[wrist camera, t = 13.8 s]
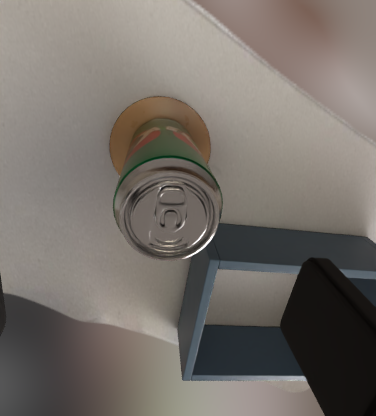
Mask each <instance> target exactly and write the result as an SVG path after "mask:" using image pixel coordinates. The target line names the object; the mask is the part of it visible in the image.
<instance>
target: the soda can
mask: <svg viewBox="0 0 376 416" xmlns="http://www.w3.org/2000/svg"><path fill="white" fill-rule="evenodd" d="M222 209H223V200H222V193H221V190H220V187H219V185H218V183H217V181H216V179H215V177H214V175H213V174H212V172H211V170H210V168H209V167H208V165H207V163H206V161H205V159H204V158H203V156H202V154H201V152H200V150H199V149H198V147H197V145H196V143H195V142H194V140H193V138H192V136H191V134H190V133H189V132H188V130H187V129H186V128H185V127H184V126H183V125H181V124H180V123H178V122H176V121H174V120H171V119H166V118H158V119H153V120H150V121H148V122H146V123H144V124H143V125H141V126H140V127H139V128H138V129H137V130H136V132H135V133H134V135H133V137H132V139H131V142H130V145H129V149H128V152H127V155H126V158H125V162H124V165H123V168H122V171H121V175H120V178H119V181H118V184H117V188H116V191H115V195H114V199H113V211H114V217H115V220H116V223H117V225H118V227H119V229H120V231H121V232H122V233H123V235H124V237H125V239H126V240H127V242H128V243H129V244H130V245H131V246H132V247H133V248H134V249H135V250H136V251H138V252H139V253H141V254H143V255H145V256H147V257H149V258H152V259H156V260H163V261H173V260H180V259H184V258H187V257H190V256H192V255H194V254H196V253H197V252H199V251H200V250H202V249H203V248H204V247H205V246H206V245H207V244H208V243H209V242H210V240H211V239H212V237H213V236H214V234H215V232H216V230H217V227H218V223H219V221H220V218H221V214H222Z"/></svg>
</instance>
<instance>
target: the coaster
mask: <svg viewBox="0 0 376 416" xmlns="http://www.w3.org/2000/svg"><path fill="white" fill-rule="evenodd" d="M158 118H166V119H171V120H174V121H176V122H178V123H180V124H181V125H183V126H184V127H185V128H186V129H187V130H188V132H189V133H190V134H191V136H192V138H193V140H194V142H195V143H196V145H197V147H198V149H199V150H200V152H201V154H202V156H203V158H204V159H205V161H206V163H207V164H208V161H209V157H210V137H209V133H208V130H207V128H206V125H205V124H204V122H203V120H202V119H201V117H200V116H199V115H198V114H197V113H196V112H195V111H194V110H193V109H192V108H191V107H190V106H188V105H187V104H185V103H183V102H182V101H179V100H177V99H174V98H170V97H162V96H157V97H149V98H145V99H142V100H139V101H137V102H135V103H133V104H132V105H131V106H129V107H128V108H127V109H126V110H125V111H124V112H123V113H122V114H121V115H120V116H119V118H118V119H117V121H116V123H115V124H114V127H113V129H112V133H111V136H110V155H111V159H112V163H113V165H114V167H115V169H116V171H117V173H118V174H119V176H120V175H121V171H122V168H123V165H124V162H125V158H126V155H127V152H128V149H129V145H130V142H131V139H132V137H133V135H134V133H135V132H136V130H137V129H138V128H139V127H140V126H141V125H143V124H144V123H146V122H148V121H150V120H153V119H158Z"/></svg>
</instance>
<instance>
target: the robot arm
mask: <svg viewBox="0 0 376 416" xmlns="http://www.w3.org/2000/svg"><path fill="white" fill-rule="evenodd" d="M5 323H6V312H5V305H4V297H3V290H2V283H1V275H0V335H1V334H2V332H3V329H4V327H5ZM280 326H281V331H282V333H283V335H284V337H285V339H286V341H287V343H288V345H289V347H290V349H291V351H292V353H293V355H294V357H295V359H296V361H297V362H298V364H299V366H300V368H301V370H302V372H303V374H304V376H305V378H306V380H307V382H308V384H309V386H310V388H311V389H312V391H313V393H314V395H315V397H316V399H317V401H318V403H319V405H320V407H321V409H322V411H323V413H324V415H325V416H376V307H375V306H374V305H373V304H372V303H371V302H370V301H369V300H368V299H367V298H366V297H365V296H364V295H363V293H362V292H361V291H360V290H359V289H358V288H357V287H356V286H355V285H354V284H353V283H352V282H351V281H350V280H349V279H348V278H347V277H346V276H345V275H344V274H343V273H342V272H341V271H340V270H339V269H338V268H337V267H336V265H335V264H334V263H333V262H332V261H331V260H329V259H328V258H315V257H311V258H309V259H308V260H307V261H305V262H304V263H303V264H302V266H301V268H300V271H299V274H298V276H297V279H296V282H295V284H294V287H293V290H292V292H291V295H290V298H289V300H288V303H287V306H286V308H285V311H284V314H283V316H282V319H281V323H280Z"/></svg>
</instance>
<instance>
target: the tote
mask: <svg viewBox="0 0 376 416" xmlns="http://www.w3.org/2000/svg"><path fill="white" fill-rule="evenodd" d="M311 257H315V258H328V259H329V260H331V261H332V262H333V263H334V264H335V265H336V267H337V268H338V269H339V270H340V271H341V272H342V273H343V274H344V275H345V276H346V277H347V278H348V279H349V280H350V281H351V282H352V283H353V284H354V285H355V286H356V287H357V288H358V289H359V290H360V291H361V292H362V293H363V295H364V296H365V297H366V298H367V299H368V300H369V301H370V302H371V303H372V304H373V305H374V306H375V307H376V244H375V243H374V242H373V241H372V240H370V239H369V238H368V237H360V236H350V235H339V234H328V233H317V232H307V231H296V230H285V229H274V228H263V227H253V226H242V225H231V224H220V223H218V227H217V230H216V232H215V234H214V236H213V237H212V239H211V240H210V242H209V243H208V244H207V245H206V246H205V247H204V248H203V249H202V250H200V251H199V252H197V253H196V254H194V255H192V258H191V263H190V268H189V273H188V278H187V283H186V288H185V294H184V299H183V304H182V309H181V314H180V319H179V324H178V340H179V350H180V361H181V371H182V380H183V381H190V380H191V381H307V380H306V378H305V376H304V374H303V372H302V370H301V368H300V366H299V364H298V362H297V361H296V359H295V357H294V355H293V353H292V351H291V349H290V347H289V345H288V343H287V341H286V339H285V337H284V335H283V333H282V331H281V328H278V327H249V326H219V325H204V323H205V319H206V315H207V310H208V306H209V302H210V298H211V294H212V290H213V286H214V282H215V278H216V274H217V270H218V269H229V270H244V271H259V272H274V273H289V274H299V271H300V268H301V266H302V264H303V263H304V262H305V261H307V260H308V259H309V258H311Z"/></svg>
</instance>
